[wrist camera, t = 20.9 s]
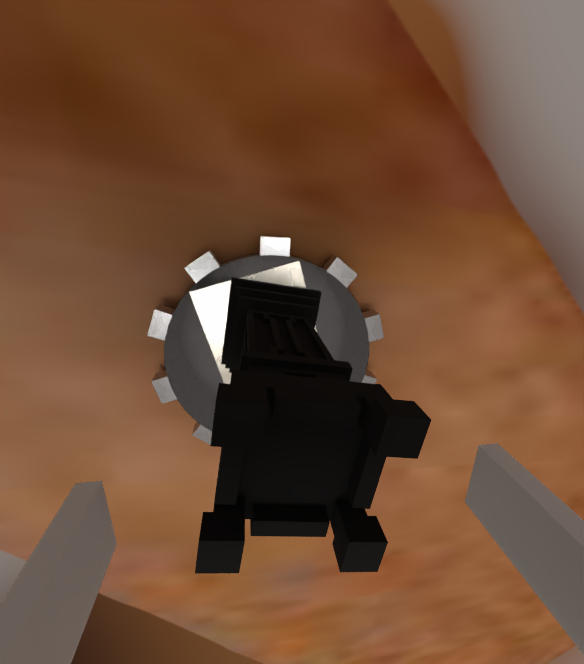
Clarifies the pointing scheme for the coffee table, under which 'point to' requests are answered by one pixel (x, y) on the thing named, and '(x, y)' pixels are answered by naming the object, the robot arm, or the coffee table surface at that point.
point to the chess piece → (297, 435)
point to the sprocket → (211, 314)
